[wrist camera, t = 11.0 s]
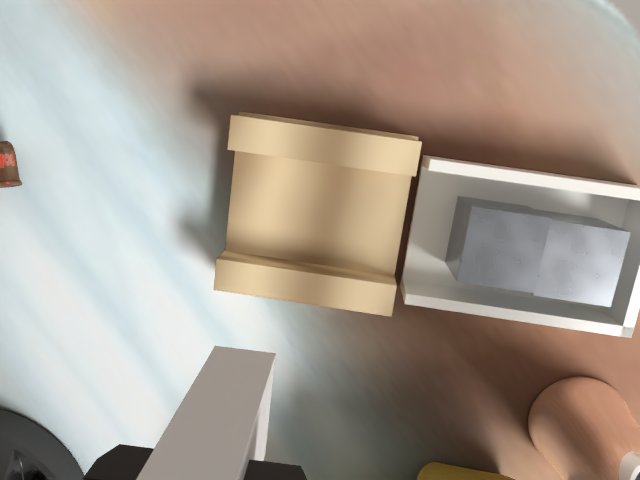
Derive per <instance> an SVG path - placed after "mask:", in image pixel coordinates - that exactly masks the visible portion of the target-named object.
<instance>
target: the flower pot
mask: <svg viewBox="0 0 640 480" xmlns="http://www.w3.org/2000/svg"><path fill="white" fill-rule="evenodd" d="M417 480H515V479H512V478H509V477H507V476H504V475H501V474H496V473H490V472H485V471H479V470H474V469H468V468H463V467H458V466H453V465H448V464H443V463H438V462H432V463H429V464H426V465H425V466H424V467H423V468H422V469H421V471H420V472H419V474H418V477H417Z"/></svg>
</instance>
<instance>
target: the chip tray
mask: <svg viewBox="0 0 640 480" xmlns="http://www.w3.org/2000/svg"><path fill="white" fill-rule="evenodd" d="M458 196H463V197H469V198H476V199H483V200H490V201H496V202H503V203H510V204H517V205H524V206H528V207H530V208H532V209H537V210H543V211H550V212H557V213H564V214H570V215H577V216H584V217H591V218H597V219H600V220H602V221H605V222H607V223H609V224H612V225H614V226H617V227H619V228H622V229H624V230H627V231H629V232H631V233H630V237H629V241H628V245H627V248H626V252H625V256H624V259H623V263H622V267H621V271H620V274H619V278H618V282H617V285H616V289H615V293H614V297H613V300H612V304H611V307H606V306H599V305H592V304H586V303H579V302H573V301H566V300H560V299H553V298H546V297H540V296H533V295H532V294H531V293H528V292H522V291H515V290H508V289H502V288H495V287H489V286H482V285H476V284H469V283H462V282H457V281H456V280H455V278H454V276H453V275H452V273H451V272H450V270H449V268H448V267H447V265H446V264H445V258H446V253H447V248H448V243H449V238H450V233H451V228H452V223H453V218H454V213H455V208H456V202H457V197H458ZM400 289H401V293H402V296H403V300H404V304H407V305H414V306H421V307H427V308H434V309H441V310H447V311H454V312H461V313H467V314H474V315H481V316H487V317H494V318H501V319H507V320H514V321H521V322H527V323H534V324H541V325H547V326H554V327H561V328H567V329H574V330H581V331H587V332H594V333H601V334H607V335H614V336H621V337H627V338H631V337H632V333H633V330H634V326H635V323H636V319H637V315H638V312H639V308H640V186H638V185H631V184H624V183H617V182H610V181H603V180H596V179H589V178H582V177H575V176H568V175H561V174H554V173H547V172H539V171H532V170H525V169H518V168H511V167H504V166H497V165H490V164H483V163H476V162H469V161H462V160H455V159H448V158H441V157H434V156H427V155H423V157H422V162H421V168H420V174H419V179H418V185H417V191H416V197H415V202H414V208H413V214H412V219H411V225H410V231H409V236H408V242H407V248H406V253H405V259H404V265H403V270H402V276H401V282H400Z"/></svg>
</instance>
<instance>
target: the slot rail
mask: <svg viewBox="0 0 640 480" xmlns="http://www.w3.org/2000/svg"><path fill="white" fill-rule="evenodd" d="M421 145H422V142H421V141H418V137H417V136H411V135H404V134H397V133H390V132H383V131H376V130H369V129H361V128H354V127H347V126H340V125H333V124H326V123H319V122H312V121H305V120H297V119H290V118H283V117H276V116H269V115H262V114H255V113H248V112H239V115H231V119H230V129H229V139H228V149H227V150H233V151H235V156H234V166H233V176H232V186H231V196H230V205H229V215H228V225H227V235H226V244H225V251H224V252H223V253H222V254H221V255H220V256H219V257H218V258H217V260H216V270H215V280H214V290H218V291H225V292H231V293H238V294H245V295H251V296H258V297H265V298H271V299H278V300H284V301H291V302H298V303H304V304H311V305H318V306H324V307H331V308H337V309H344V310H351V311H357V312H364V313H371V314H377V315H384V316H390V317H392V311H393V305H394V300H395V294H396V288H397V284H396V280H395V276H394V275H395V269H396V264H397V258H398V252H399V246H400V240H401V235H402V229H403V223H404V217H405V211H406V206H407V200H408V194H409V188H410V183H411V177H412V176H415V177H416V174H417V168H418V162H419V157H420V151H421Z"/></svg>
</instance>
